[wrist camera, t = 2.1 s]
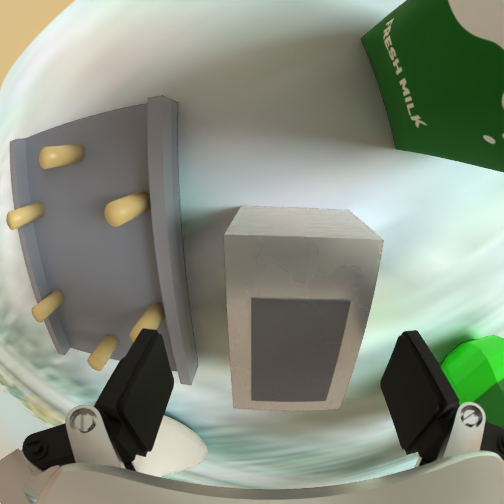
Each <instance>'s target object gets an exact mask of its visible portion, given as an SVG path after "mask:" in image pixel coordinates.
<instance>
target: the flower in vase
mask: <svg viewBox="0 0 504 504" xmlns="http://www.w3.org/2000/svg"><path fill="white" fill-rule="evenodd" d="M207 453H208V451H207V448H206V446H205V444H204V442H203V440H202V439H201V438H200V436H199V435H197V434H196V433H195V432H194V431H193V430H191V429H190V428H188V427H187V426H185V425H184V424H182V423H180V422H178V421H176V420H174V419H172V418H170V417H168V416H165V415H164V416H163V419H162V422H161V425H160V428H159V431H158V434H157V437H156V440H155V443H154V446H153V449H152V451H151V452H147V455H146V457H143V456H139V455H136V457H135V460H134V463H135V465H136V467H137V469H138V471H139V472H141V473H144V474H148V475H153V476H157V477H161V476H164V475H167V474H171V473H175V472H179V471H182V470H186V469H189V468H191V467H194V466H196V465H198V464H200V463H201V462H202V461H203V460H204V459H205V457H206V456H207Z"/></svg>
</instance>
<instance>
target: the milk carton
mask: <svg viewBox="0 0 504 504" xmlns="http://www.w3.org/2000/svg"><path fill="white" fill-rule="evenodd" d="M361 40H362V43H363V45H364V47H365V50H366V52H367V55H368V57H369V60H370V62H371V65H372V68H373V70H374V73H375V76H376V79H377V82H378V85H379V88H380V91H381V94H382V97H383V100H384V104H385V107H386V111H387V114H388V118H389V122H390V125H391V129H392V133H393V138H394V142H395V146H396V149H397V150H404V151H410V152H416V153H421V154H426V155H431V156H436V157H441V158H446V159H450V160H454V161H459V162H463V163H467V164H471V165H476V166H480V167H484V168H488V169H492V170H496V171H500V172H504V0H406V1H405V2H404V3H403V4H401V5H400V6H399V7H398V8H396V9H395V10H394V11H393V12H391V13H390V14H389V15H388V16H386V17H385V18H384V19H383V20H382V21H381V22H379V23H378V24H377V25H376V26H375V27H374V28H372V29H371V30H370V31H369V32H368V33H367V34H366V35H364V36H363V37H362V38H361Z"/></svg>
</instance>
